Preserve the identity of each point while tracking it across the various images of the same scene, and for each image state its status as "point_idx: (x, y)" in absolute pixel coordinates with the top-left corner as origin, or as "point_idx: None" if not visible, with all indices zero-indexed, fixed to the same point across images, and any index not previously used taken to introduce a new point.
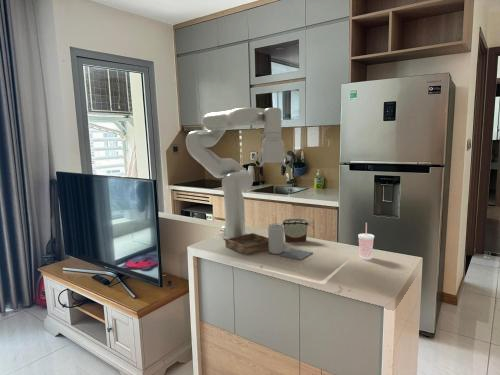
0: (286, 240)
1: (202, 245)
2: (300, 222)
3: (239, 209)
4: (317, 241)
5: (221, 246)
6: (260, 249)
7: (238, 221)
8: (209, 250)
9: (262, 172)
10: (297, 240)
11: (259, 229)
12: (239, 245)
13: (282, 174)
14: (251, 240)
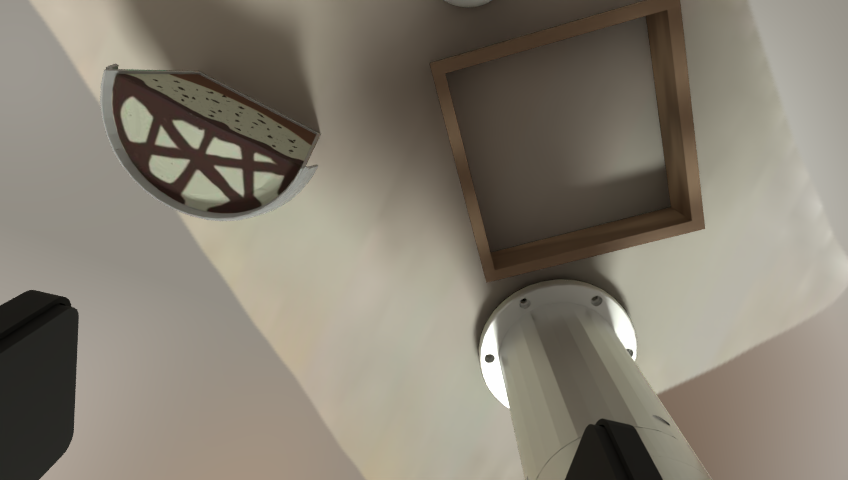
0: (311, 133)
1: (780, 294)
2: (166, 116)
3: (607, 412)
4: (115, 58)
5: (699, 230)
6: (546, 29)
7: (590, 355)
8: (795, 187)
9: (632, 476)
10: (244, 99)
11: (351, 445)
12: (683, 72)
13: (62, 335)
14: (498, 252)
